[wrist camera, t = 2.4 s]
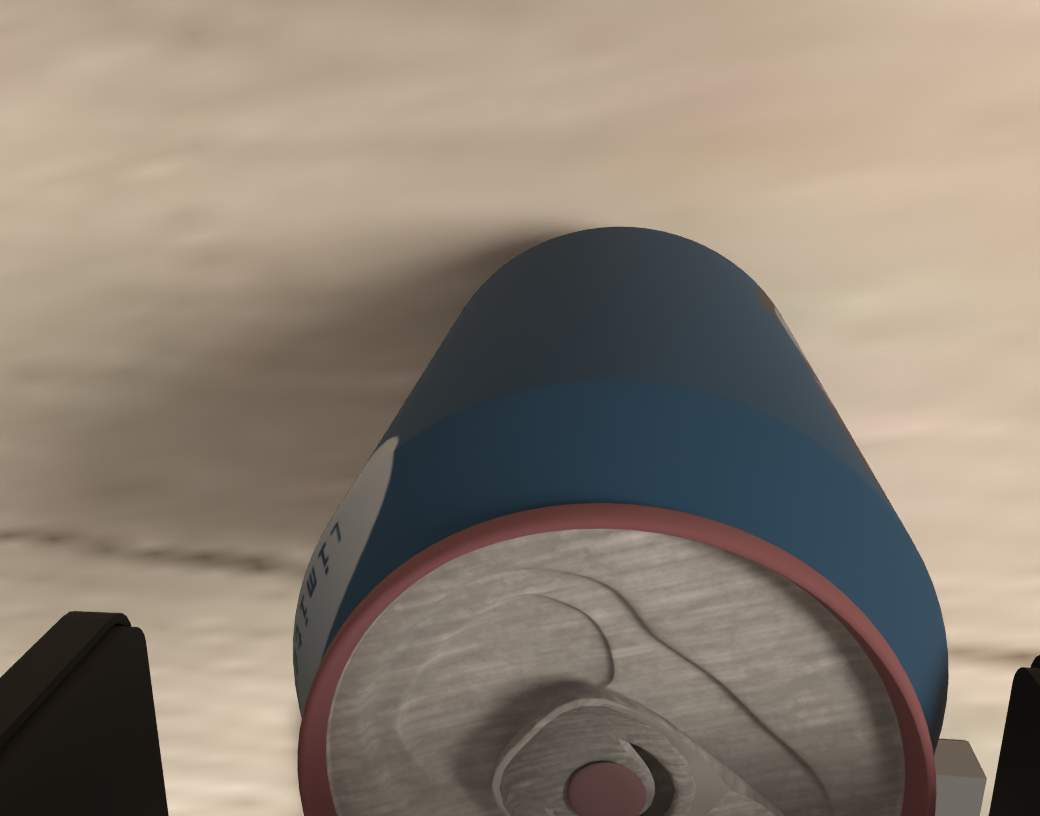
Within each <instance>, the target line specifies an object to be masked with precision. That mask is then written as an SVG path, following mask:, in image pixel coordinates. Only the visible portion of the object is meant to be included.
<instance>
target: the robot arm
mask: <svg viewBox="0 0 1040 816" xmlns="http://www.w3.org/2000/svg"><path fill="white" fill-rule="evenodd" d="M0 816H168V808H167V801H166V793H165V785H164V777H163V770H162V762H161V754H160V747H159V739H158V731H157V724H156V716H155V708H154V701H153V693H152V685H151V678H150V670H149V662H148V655H147V647H146V640H145V636H144V633H143V631H142V630H141V629H140V628H138V627H131V623H130V621H129V620H128V618H127V616H125V615H124V614H122V613H105V612H82V611H73V612H69V613H67V614H66V615H64V616H63V617H62V618H61V619H60V620H59V621H58V622H57V623H56V624H55V625H54V626H53V627H52V628H51V629H50V630H49V631H48V632H47V633H46V634H45V635H44V636H43V637H41V638H40V639H39V640H38V641H37V642H36V643H35V644H34V645H33V646H32V647H31V648H30V649H29V650H28V651H27V652H26V653H25V654H24V655H23V656H22V657H21V658H20V659H19V660H18V661H17V662H16V663H15V664H14V665H13V666H12V667H11V668H10V669H9V670H8V671H7V672H6V673H5V674H4V675H3V676H2V677H1V678H0ZM989 816H1040V655H1039V656H1037V657H1036V658H1035V659H1034V661H1033V663H1032V665H1031V668H1024V667H1021V668H1020V669H1018V670H1017V672H1016V673H1015V676H1014V679H1013V684H1012V689H1011V695H1010V700H1009V706H1008V712H1007V717H1006V723H1005V728H1004V734H1003V740H1002V745H1001V751H1000V756H999V762H998V768H997V773H996V779H995V784H994V790H993V796H992V801H991V807H990V812H989Z"/></svg>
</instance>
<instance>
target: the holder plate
mask: <svg viewBox="0 0 1040 816" xmlns="http://www.w3.org/2000/svg"><path fill="white" fill-rule="evenodd" d="M934 762H935V770H936V792H937V796H936V810H935V816H980V810H981V805H982V800H983V795H984V790H985V784H986V779H987V778H986V776H985V774H984V772H983V770H982V768H981V766H980V764H979V762H978V760H977V758H976V756H975V754H974V752H973V750H972V748H971V746H970V744H969V742H968V741H955V740H938V744H937V747H936V751H935V755H934Z"/></svg>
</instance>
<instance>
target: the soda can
mask: <svg viewBox="0 0 1040 816" xmlns="http://www.w3.org/2000/svg"><path fill="white" fill-rule="evenodd" d="M293 665H294V676H295V686H296V692H297V698H298V703H299V709H300V713H301V717H302V722H301V727H300V733H299V743H298V780H299V791H300V796H301V802H302V807H303V812H304V816H935V810H936V796H937V792H936V770H935V762H934V755H935V751H936V747H937V744H938V740H939V736H940V733H941V729H942V725H943V719H944V713H945V707H946V702H947V690H948V650H947V642H946V633H945V627H944V622H943V618H942V613H941V608H940V605H939V602H938V598H937V595H936V592H935V589H934V586H933V583H932V581H931V578H930V576H929V574H928V571H927V569H926V566H925V564H924V562H923V560H922V558H921V556H920V554H919V552H918V551H917V549H916V547H915V545H914V543H913V541H912V539H911V538H910V536H909V534H908V533H907V531H906V529H905V527H904V526H903V524H902V522H901V520H900V519H899V517H898V515H897V514H896V512H895V510H894V508H893V507H892V505H891V503H890V502H889V500H888V498H887V496H886V495H885V493H884V491H883V490H882V488H881V486H880V484H879V483H878V481H877V479H876V478H875V476H874V474H873V472H872V471H871V469H870V467H869V465H868V464H867V462H866V460H865V459H864V457H863V455H862V453H861V452H860V450H859V448H858V447H857V445H856V443H855V441H854V440H853V438H852V436H851V435H850V433H849V431H848V429H847V428H846V426H845V424H844V423H843V421H842V419H841V417H840V416H839V414H838V412H837V410H836V409H835V407H834V405H833V404H832V402H831V400H830V398H829V397H828V395H827V393H826V392H825V390H824V388H823V386H822V385H821V383H820V381H819V380H818V378H817V376H816V374H815V373H814V371H813V369H812V367H811V366H810V364H809V362H808V361H807V359H806V357H805V355H804V354H803V352H802V350H801V349H800V347H799V345H798V343H797V342H796V340H795V338H794V337H793V335H792V333H791V331H790V330H789V328H788V326H787V325H786V323H785V321H784V319H783V318H782V316H781V314H780V313H779V311H778V310H777V308H776V307H775V305H774V304H773V302H772V301H771V300H770V298H769V297H768V296H767V295H766V293H765V292H764V291H763V290H762V289H761V288H760V287H759V286H758V285H757V283H756V282H755V281H754V280H753V279H752V278H750V277H749V276H748V275H747V274H746V273H745V272H744V271H743V270H741V269H740V268H739V267H737V266H736V265H735V264H734V263H732V262H731V261H729V260H728V259H726V258H725V257H723V256H722V255H720V254H719V253H717V252H715V251H713V250H711V249H709V248H707V247H706V246H703V245H701V244H699V243H697V242H694V241H692V240H689V239H686V238H684V237H681V236H678V235H674V234H670V233H667V232H663V231H658V230H652V229H646V228H636V227H605V228H595V229H588V230H583V231H578V232H574V233H570V234H566V235H563V236H560V237H557V238H554V239H551V240H549V241H546V242H544V243H541V244H539V245H537V246H535V247H533V248H531V249H529V250H527V251H526V252H524V253H522V254H521V255H519V256H517V257H516V258H514V259H513V260H511V261H510V262H509V263H507V264H506V265H504V266H503V267H502V268H501V269H499V270H498V271H497V272H496V273H495V274H493V275H492V276H491V277H490V278H489V279H488V280H487V281H486V282H485V283H484V284H483V285H482V286H481V287H480V289H479V290H478V291H477V292H476V293H475V294H474V296H473V297H472V298H471V300H470V301H469V302H468V304H467V305H466V306H465V308H464V309H463V311H462V313H461V314H460V316H459V317H458V319H457V321H456V322H455V324H454V325H453V327H452V328H451V330H450V332H449V333H448V335H447V336H446V338H445V340H444V341H443V343H442V344H441V346H440V348H439V349H438V351H437V352H436V354H435V355H434V357H433V359H432V360H431V362H430V363H429V365H428V367H427V368H426V370H425V371H424V373H423V374H422V376H421V378H420V379H419V381H418V382H417V384H416V386H415V387H414V389H413V390H412V392H411V394H410V395H409V397H408V398H407V400H406V401H405V403H404V405H403V406H402V408H401V409H400V411H399V413H398V414H397V416H396V417H395V419H394V420H393V422H392V424H391V425H390V427H389V428H388V430H387V432H386V433H385V435H384V436H383V438H382V440H381V441H380V443H379V444H378V446H377V447H376V449H375V451H374V452H373V454H372V455H371V457H370V459H369V460H368V462H367V463H366V465H365V466H364V468H363V470H362V471H361V473H360V474H359V476H358V478H357V479H356V481H355V482H354V484H353V485H352V487H351V489H350V490H349V492H348V493H347V495H346V497H345V498H344V500H343V501H342V503H341V505H340V506H339V508H338V509H337V511H336V512H335V514H334V516H333V517H332V519H331V521H330V522H329V524H328V526H327V527H326V529H325V530H324V532H323V534H322V536H321V538H320V540H319V542H318V544H317V546H316V548H315V550H314V552H313V555H312V557H311V560H310V562H309V565H308V568H307V570H306V573H305V576H304V580H303V583H302V587H301V590H300V594H299V599H298V604H297V610H296V615H295V624H294V635H293Z"/></svg>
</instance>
